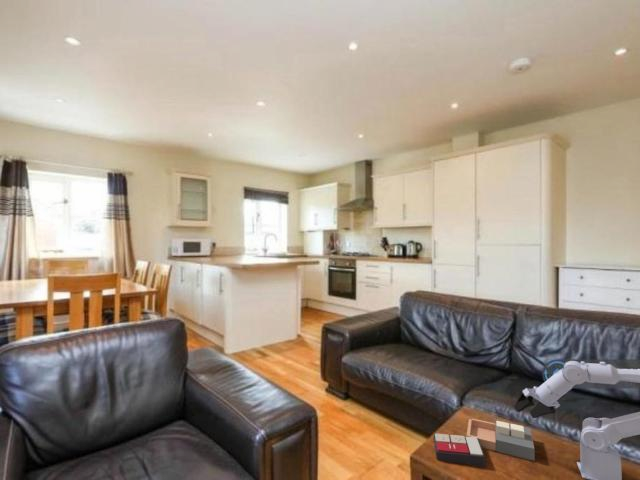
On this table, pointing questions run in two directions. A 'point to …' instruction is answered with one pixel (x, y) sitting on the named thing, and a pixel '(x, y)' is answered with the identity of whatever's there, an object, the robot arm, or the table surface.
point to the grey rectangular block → (516, 444)
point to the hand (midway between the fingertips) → (523, 412)
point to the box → (482, 433)
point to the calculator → (459, 449)
